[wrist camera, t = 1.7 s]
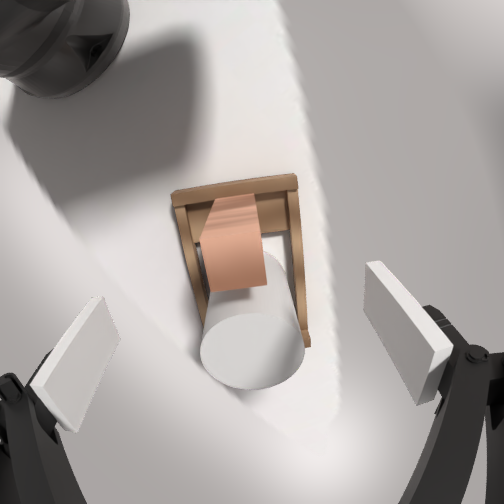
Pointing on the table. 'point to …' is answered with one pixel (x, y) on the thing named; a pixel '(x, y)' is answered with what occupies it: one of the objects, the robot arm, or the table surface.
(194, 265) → the sled
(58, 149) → the table surface
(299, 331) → the cup
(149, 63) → the table surface
